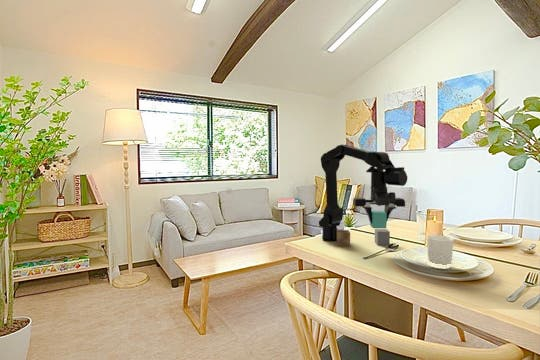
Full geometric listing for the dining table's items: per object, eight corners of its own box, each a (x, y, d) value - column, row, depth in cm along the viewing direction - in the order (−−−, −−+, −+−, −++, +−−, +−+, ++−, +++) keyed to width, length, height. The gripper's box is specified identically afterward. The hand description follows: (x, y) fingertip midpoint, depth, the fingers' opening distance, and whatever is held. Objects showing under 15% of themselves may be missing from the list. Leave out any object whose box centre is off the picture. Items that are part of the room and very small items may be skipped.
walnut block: (338, 246, 132) (338, 232, 132) (336, 243, 137) (336, 230, 137) (350, 246, 132) (350, 232, 132) (348, 243, 137) (348, 230, 136)
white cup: (443, 272, 102) (444, 242, 101) (421, 264, 109) (422, 236, 108) (457, 268, 105) (458, 238, 105) (436, 261, 112) (436, 234, 112)
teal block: (373, 228, 121) (373, 212, 120) (370, 225, 126) (370, 210, 125) (386, 228, 120) (386, 213, 120) (382, 225, 125) (383, 210, 125)
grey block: (377, 245, 134) (377, 231, 133) (374, 242, 139) (374, 229, 138) (389, 245, 133) (389, 231, 133) (386, 242, 138) (386, 229, 138)
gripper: (358, 186, 115) (357, 228, 116) (410, 186, 113) (409, 228, 114) (352, 183, 126) (352, 222, 127) (400, 183, 124) (400, 222, 125)
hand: (378, 223), depth 123 cm, fingers closed on teal block, 5 cm apart
